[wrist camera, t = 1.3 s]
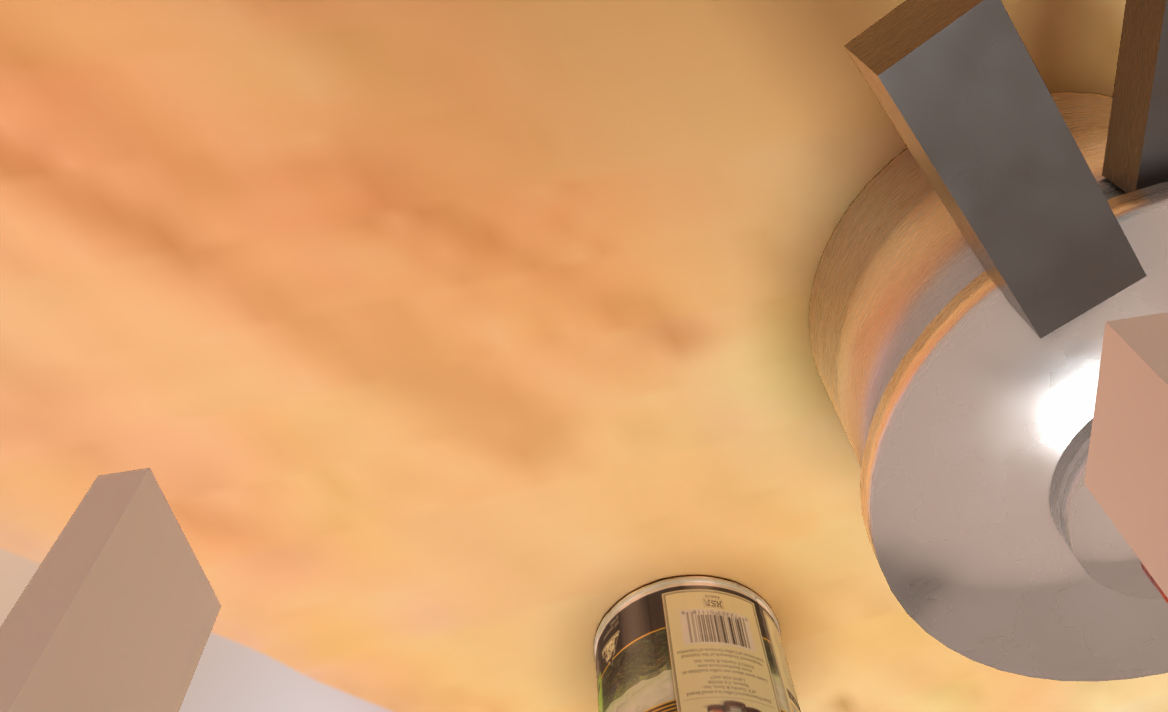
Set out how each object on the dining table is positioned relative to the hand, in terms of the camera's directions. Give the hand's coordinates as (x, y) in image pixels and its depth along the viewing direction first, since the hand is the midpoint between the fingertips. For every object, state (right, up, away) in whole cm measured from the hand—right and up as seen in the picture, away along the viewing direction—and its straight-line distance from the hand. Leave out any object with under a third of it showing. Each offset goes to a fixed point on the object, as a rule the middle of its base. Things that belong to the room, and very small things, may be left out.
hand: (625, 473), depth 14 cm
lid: (+16, +1, +17) cm, 24 cm away
